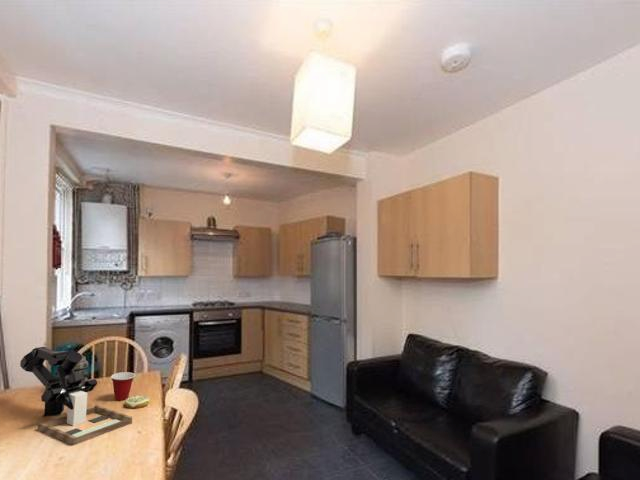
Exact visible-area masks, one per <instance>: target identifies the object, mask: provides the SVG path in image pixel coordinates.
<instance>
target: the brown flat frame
mask: <svg viewBox="0 0 640 480" xmlns="http://www.w3.org/2000/svg"><path fill="white" fill-rule="evenodd" d="M95 413H97V414H99V415H100V416H97V417H93V418H91V419H88V422H90V423H93V424H96V423H99V422H101V421H105V420H108V419H109V418H111V419H113V420H115V419H118V420H120V422H117V423H114V424H112V425H109V426H106V427H104V428H101V429H98V430H95V431H93V432H90V433H87V434H84V435H82V436H79V437H75V436H73V434H75V433H78V432H81V431H83V430H82V429H80V428H73V429H71V430H70V429H69V430H67V431H64V430H60V429H58V428H56V427H54V426H57V425H61V424H63V423H67V415H65V416H62V417H59V418H55V419H52V420H49V421H46V422H39V423H37V430H38V431H40V432H42V433H44V434H47V435H48V436H50V437H51V436H52V437H53V438H55V439H58V440H60V441H63V442H64V443H66V444H69V445H71V446H75V445H78V444H81V443H83V442H87V441H88V440H91V439H94V438H96V437H99V436H103V435H104V434H107V433H111V431H115V430H117V429H120V428H123V427H126V426H128V425H131V424H133V416H131V415H127V414H125V413H121V412H119V411H115V410H113V409H110V408H107V407H103V406H101V405H94V406H93V407H91V408H88V409H86V416H88V415H91V414H95Z"/></svg>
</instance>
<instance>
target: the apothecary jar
mask: <svg viewBox="0 0 640 480" xmlns="http://www.w3.org/2000/svg"><path fill="white" fill-rule="evenodd" d="M89 365H90V363H89V361H88V360H87V359H86V356H85V355H84V356H83V355H82V359H81V361H80V362H79V364H78V365H77V366H76V368H75V369H73V371H74V373H81V371H83V370H87V368H88V367H89ZM88 380H89V378H88V377H86V378H85V379H84V380H82V383H81V384H79V386H80V385H84V383H85V382H86V381H88ZM75 392H79V391H75ZM75 392H71V393H75ZM71 393H69V394H71Z"/></svg>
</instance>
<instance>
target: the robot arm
mask: <svg viewBox="0 0 640 480" xmlns="http://www.w3.org/2000/svg"><path fill="white" fill-rule="evenodd" d="M82 356H83V355H82V353H80V352H78V351H75V349H70V350H61V351H57V350H54V349H50V348H48V347H46V346H39V347H34V348H33V349H32V350H31V351H30V352H29V353H27V354H25V355H23V357H22V359H21V360H20V364H19V366H20V367H21V369H22V370H24V371H25V372H28V373H32V374H34V376H35V377H36V378H37V379H38V380H39V382H40V383H41V384H42V385H43V386H44V387H45V390H44V392H43V393H42V395H41V397H40V398H41V402H42V403H44V413H43V415H42V417H53V416H60V415H62V413H63V412H64V410H65V407H67V409H68V408H70V409H71V410H72V409H73V405H72V402H71V400H70V398H69V393H71V392H75V391H83V392H86V393H88V392H91V391H94V389H95V388H96V387H97V385H98V380H97V379H96V378H92V379H88V381H86V382H85V383H84V385H80V386H79V384H81V383H82V380H84V379H85V378H86V377H87V378H88V377H89V371H88V370H87V369H86V370H83V371H81V373H74V371H73V369H75V368H76V366H77V365H78V364H79V362H80V361H81V359H82ZM45 361H48V363H47V364H49V366H51V367H57V368H56V369H55V371H54V374H53V373H52V372H51V371H50V370H49V369H48V368H47V367H46V366H45V365H44V362H45ZM55 375H57V376H58V377H57V378H56V377H55Z"/></svg>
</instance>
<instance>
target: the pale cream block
mask: <svg viewBox="0 0 640 480" xmlns="http://www.w3.org/2000/svg"><path fill="white" fill-rule="evenodd" d="M69 398H70V400H71V402H72V405H73V409H72V410H71V409H70V408H68V407H67V415H66V416H67V422H66V424H68V425H70V426H73V427H74V426H77V425H79V424H83V423H86V421H87V415H86V410H87V407H88V392H87V393H86V392H83V391H79V392H75V393H71V394H69Z"/></svg>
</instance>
